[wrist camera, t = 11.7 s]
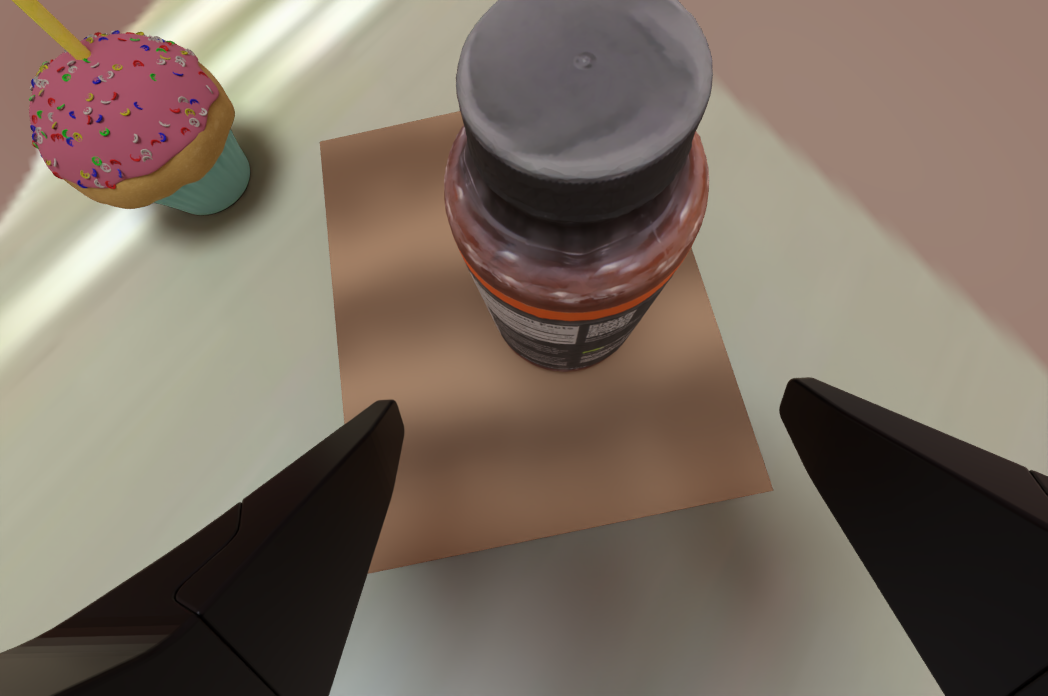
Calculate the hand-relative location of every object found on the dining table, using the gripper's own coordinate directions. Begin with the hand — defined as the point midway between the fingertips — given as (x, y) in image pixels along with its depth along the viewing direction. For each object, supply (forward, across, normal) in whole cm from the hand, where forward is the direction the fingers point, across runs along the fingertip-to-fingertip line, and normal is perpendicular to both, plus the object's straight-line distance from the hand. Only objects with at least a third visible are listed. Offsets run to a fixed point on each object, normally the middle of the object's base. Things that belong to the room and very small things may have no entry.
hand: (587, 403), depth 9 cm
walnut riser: (+11, +2, +3) cm, 12 cm away
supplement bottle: (+8, 0, +2) cm, 9 cm away
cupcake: (+18, +20, -4) cm, 27 cm away
